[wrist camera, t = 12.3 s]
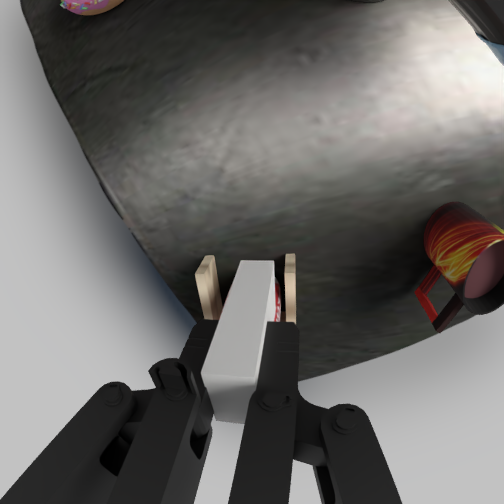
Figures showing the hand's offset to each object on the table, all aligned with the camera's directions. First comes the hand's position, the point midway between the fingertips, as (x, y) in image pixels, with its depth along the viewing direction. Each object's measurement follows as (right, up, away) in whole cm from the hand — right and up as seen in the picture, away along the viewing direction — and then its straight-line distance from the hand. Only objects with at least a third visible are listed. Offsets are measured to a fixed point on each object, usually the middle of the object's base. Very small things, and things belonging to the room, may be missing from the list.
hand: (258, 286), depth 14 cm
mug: (+28, +2, +21) cm, 35 cm away
